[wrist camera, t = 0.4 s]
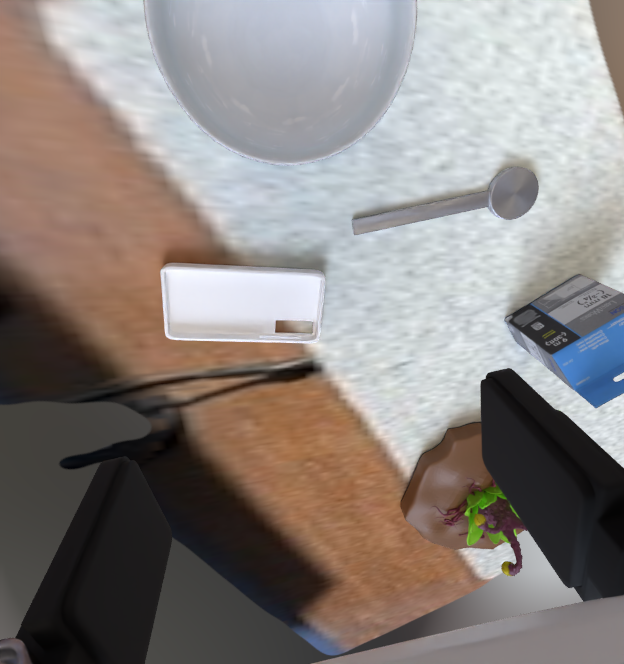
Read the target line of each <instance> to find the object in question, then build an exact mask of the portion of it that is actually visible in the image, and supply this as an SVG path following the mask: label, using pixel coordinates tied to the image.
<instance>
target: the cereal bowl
mask: <svg viewBox="0 0 624 664" xmlns="http://www.w3.org/2000/svg"><path fill="white" fill-rule="evenodd" d="M144 12H145V21H146V26H147V31H148V37H149V40H150V44H151V48H152V51H153V55H154V57H155V60H156V62H157V65H158V67H159V70H160V72H161V74H162V76H163V78H164V80H165V82H166V84H167V86H168V88H169V90H170V91H171V92H172V94H173V95H174V97H175V98H176V100H177V102H178V104H179V105H180V106H181V108H182V109H183V110H184V111H185V112H186V113H187V115H188V116H189V118H190V119H191V120H192V121H193V122H194V123H195V124H196V125H197V126H198V127H199V128H200V129H201V130H202V131H203V132H204V133H206V134H207V135H208V136H210V137H211V138H212V139H213V140H214V141H216V142H217V143H219V144H221V145H222V146H224V147H225V148H226V149H228V150H230V151H232V152H234V153H237V154H239V155H240V156H242V157H246V158H249V159H252V160H255V161H257V162H263V163H268V164H272V165H286V166H289V165H302V164H306V163H312V162H316V161H319V160H323V159H326V158H328V157H331V156H333V155H336V154H338V153H340V152H342V151H344V150H345V149H347V148H349V147H350V146H352V145H353V144H355V143H356V142H357V141H359V140H360V139H361V138H363V137H364V136H365V135H366V134H367V133H368V132H369V131H370V130H372V129H373V127H374V126H375V125H376V124H377V123H378V122H379V121H380V119H381V118H382V117H383V115H384V114H385V113H386V111H387V110H388V108H389V107H390V105H391V104H392V102H393V100H394V98H395V96H396V95H397V93H398V90H399V88H400V86H401V84H402V81H403V79H404V76H405V74H406V71H407V68H408V65H409V61H410V57H411V54H412V50H413V44H414V39H415V33H416V22H417V0H144Z"/></svg>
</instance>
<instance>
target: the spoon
mask: <svg viewBox="0 0 624 664" xmlns="http://www.w3.org/2000/svg"><path fill="white" fill-rule="evenodd" d="M538 189H539V186H538V181H537V178H536V176H535V175H534V173H533V172H532V171H530V170H528V169H526V168H522V167H511V168H508V169H505V170H503V171H502V172H500V173H499V174H498V175H497V176H496V177H495V178H494V179H493V181H492V182H491V184H490V186H489V188H488V191H483V192H478V193H474V194H469V195H464V196H460V197H455V198H450V199H446V200H441V201H436V202H432V203H427V204H422V205H418V206H413V207H408V208H404V209H399V210H394V211H390V212H385V213H380V214H376V215H371V216H366V217H362V218H357V219H352V226H353V233H354V235H359V234H364V233H368V232H373V231H378V230H382V229H387V228H392V227H396V226H401V225H405V224H410V223H415V222H419V221H424V220H429V219H433V218H438V217H443V216H447V215H452V214H457V213H461V212H466V211H471V210H475V209H480V208H485V207H488V208H489V210H490V211H491V212H492V213H493V214H494V215H495V216H497V217H499V218H502V219H506V220H511V219H516V218H518V217H521V216H522V215H524V214H525V213H526V212H528V211H529V210H530V208H531V207H532V206H533V204H534V203H535V201H536V198H537V195H538Z"/></svg>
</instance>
